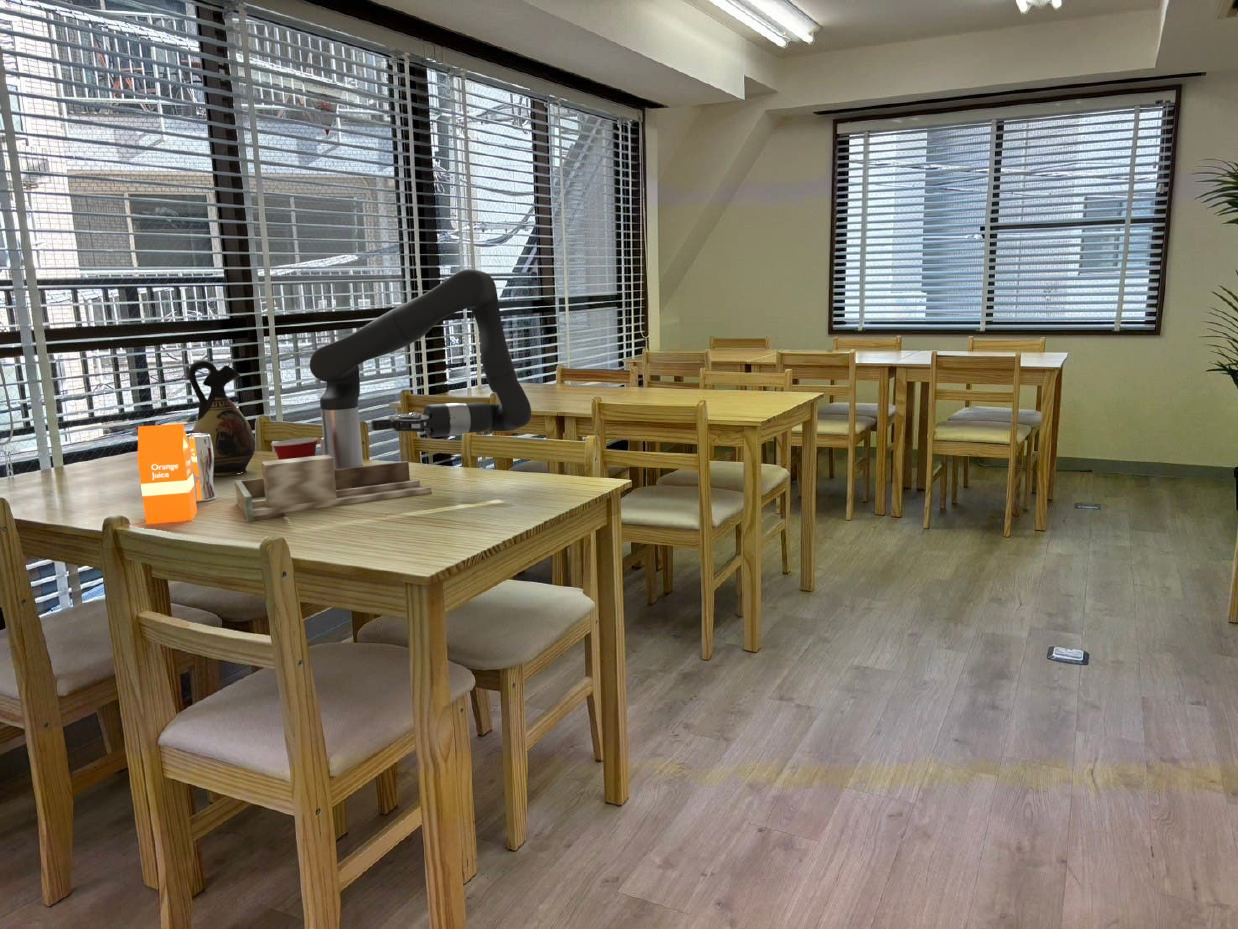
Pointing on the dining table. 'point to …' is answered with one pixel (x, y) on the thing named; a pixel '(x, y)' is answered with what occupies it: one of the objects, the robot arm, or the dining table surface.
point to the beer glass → (202, 465)
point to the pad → (258, 498)
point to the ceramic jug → (222, 421)
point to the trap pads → (369, 484)
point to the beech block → (299, 480)
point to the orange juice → (166, 474)
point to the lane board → (345, 492)
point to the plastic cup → (295, 448)
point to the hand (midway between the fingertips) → (372, 425)
